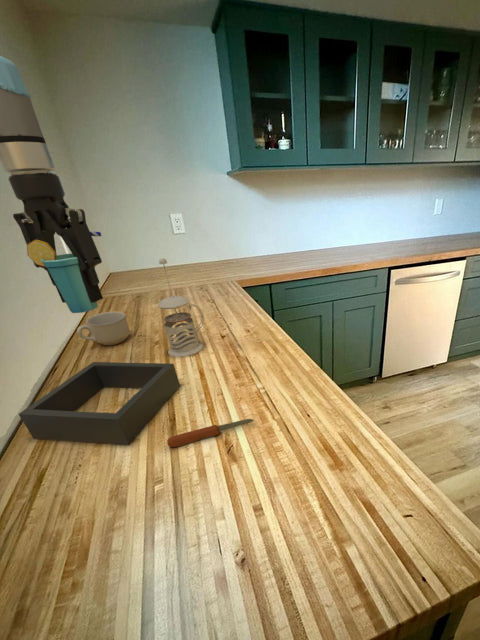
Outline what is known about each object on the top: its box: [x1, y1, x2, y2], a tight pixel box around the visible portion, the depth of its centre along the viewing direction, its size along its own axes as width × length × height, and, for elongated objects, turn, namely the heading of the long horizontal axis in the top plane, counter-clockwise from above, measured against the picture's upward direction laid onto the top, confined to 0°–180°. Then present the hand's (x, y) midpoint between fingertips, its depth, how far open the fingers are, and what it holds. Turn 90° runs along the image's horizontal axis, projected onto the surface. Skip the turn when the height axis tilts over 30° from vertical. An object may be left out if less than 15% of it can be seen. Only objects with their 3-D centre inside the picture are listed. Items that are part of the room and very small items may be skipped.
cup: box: [26, 230, 102, 314], centre depth 68 cm, size 14×8×15 cm, turn 110°
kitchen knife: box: [166, 418, 255, 448], centre depth 62 cm, size 16×1×2 cm, turn 110°
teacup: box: [76, 311, 130, 346], centre depth 102 cm, size 14×11×8 cm
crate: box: [18, 361, 181, 446], centre depth 70 cm, size 21×20×6 cm
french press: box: [157, 258, 205, 358], centre depth 90 cm, size 10×12×25 cm
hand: (82, 300), depth 71 cm, fingers closed on cup, 6 cm apart
